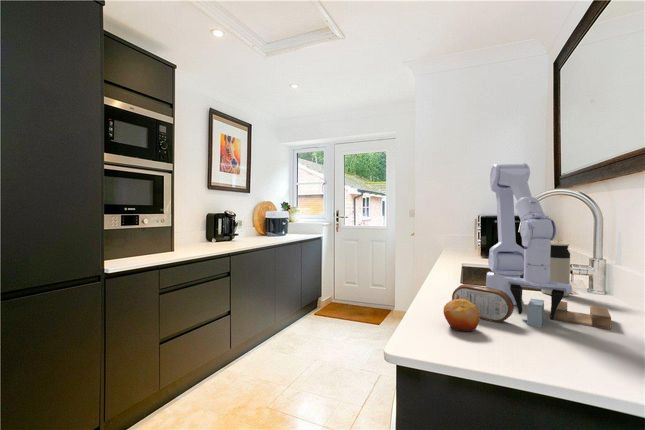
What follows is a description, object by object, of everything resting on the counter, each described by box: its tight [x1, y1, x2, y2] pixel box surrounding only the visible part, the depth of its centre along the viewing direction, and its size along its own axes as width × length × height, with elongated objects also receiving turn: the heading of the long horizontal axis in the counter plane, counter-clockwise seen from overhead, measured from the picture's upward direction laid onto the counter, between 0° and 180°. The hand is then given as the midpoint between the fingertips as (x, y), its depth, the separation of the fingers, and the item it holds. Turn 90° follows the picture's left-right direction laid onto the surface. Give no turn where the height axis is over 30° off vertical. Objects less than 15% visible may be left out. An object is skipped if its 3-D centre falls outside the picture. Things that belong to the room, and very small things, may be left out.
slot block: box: [553, 300, 612, 330], centre depth 85 cm, size 12×10×3 cm
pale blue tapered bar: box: [526, 298, 545, 329], centre depth 83 cm, size 3×9×5 cm, turn 142°
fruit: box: [443, 299, 481, 332], centre depth 78 cm, size 8×8×8 cm
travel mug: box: [540, 241, 571, 297], centre depth 112 cm, size 8×8×18 cm
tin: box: [451, 283, 515, 323], centre depth 86 cm, size 15×3×8 cm, turn 47°
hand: (535, 316), depth 83 cm, fingers open, 6 cm apart
